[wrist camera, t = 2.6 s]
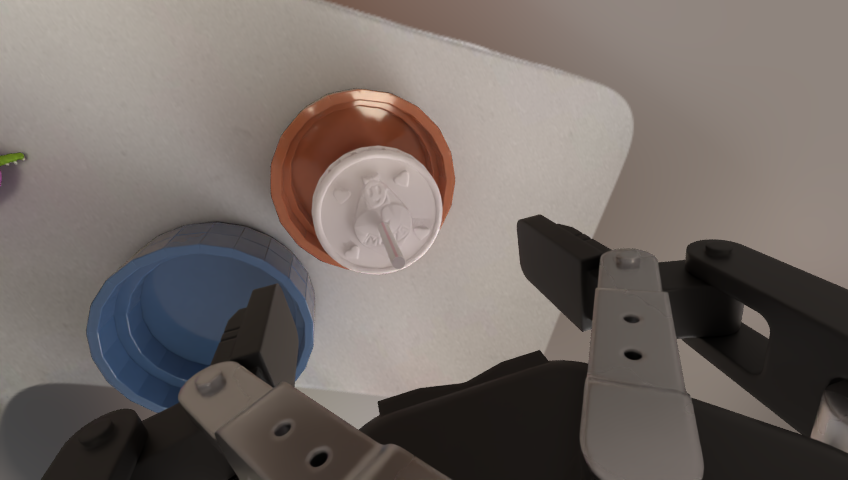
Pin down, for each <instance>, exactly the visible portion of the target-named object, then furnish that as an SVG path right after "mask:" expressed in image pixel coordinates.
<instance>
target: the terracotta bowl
mask: <svg viewBox="0 0 848 480" xmlns="http://www.w3.org/2000/svg"><path fill="white" fill-rule="evenodd" d="M370 146H385V147H391V148H396V149H399V150H401V151H403V152H405V153H408V154H410V155H412V156H413V157H414V158H415V159H417V160H418V161H419V162H420V163H421V164H423V165H424V166H425V168H426V169H427V171H428V172H429V173H430V174H431V176H432V177H433V179H434V180H435V182H436V184H437V186H438V189H439V191H440V195H441V199H442V208H443V212H442V222H441V226H442V224H443V222H444V220H445V218H446V216H447V214H448V212H449V210H450V208H451V205H452V198H453V192H454V185H455V175H454V168H453V162H452V155H451V151H450V149H449V147H448V145H447V143H446V141H445V139H444V137H443V135H442V133H441V131H440V129H439V128H438V126H437V125H436V124H435V123H434V122H433V121H432V120H431V119H430V118H429V117H428V116H427V115H426V114H425V113H424V112H423V111H422V110H421V109H420V108H419V107H417V106H416V105H414V104H412V103H410V102H408V101H406V100H404V99H402V98H400V97H398V96H396V95H394V94H392V93H388V92H380V91H373V90H366V89H357V88H356V89H355V88H353V89H348V90H343V91H338V92H333V93H328V94H326V95H324V96H323V97H321V98H319V99H318V100H316V101H314V102H313V103H311V104H309V105H308V106H306V107H305V108H304V109H302V111H301V112H300V113H299V114H298V115H297V117H296V118H295V119H294V120H293V122H292V123H291V124H290V125H289V126H288V128H287V129H286V130H285V131H284V133H283V134H282V136H281V137H280V140H279V143H278V145H277V148H276V151H275V154H274V157H273V160H272V162H271V197H272V200H273V203H274V206H275V209H276V212H277V214H278V217H279V220H280V222H281V224H282V225H283V227H284V228H285V229H286V230H287V232H288V233H289V234H290V236H291V237H292V238H293V239H294V241H295V242H296V243H297V244H298V245H299V246H300V247H301V248H303V249H304V250H305V251H307V252H308V253H310V254H311V255H313V256H314V257H316V258H317V259H319V260H320V261H322V262H325V263H329V264H332V265H335V266H338V267H341V268H345V269H348V268H346V267H344V266H342V265H341V264H339V263H338V262H336V261H335V260H334V259H333V258H332V257H331V256H330V255H328V253H327V252H326V251H325V250H324V248H323V247H322V245H321V244H320V242H319V240H318V238H317V235H316V232H315V229H314V224H313V218H312V212H311V211H312V200H313V194H314V191H315V189H316V186H317V183H318V181H319V179H320V177H321V176H322V175H323V173H324V172H325V171H326V169H327V168H328V167H329V166H330V165H331V164H332V163H333V162H335V161H336V160H337V159H338V158H340V157H341V156H342V155H344V154H345V153H347V152H349V151H351V150H353V149H357V148H361V147H370ZM441 226H440V228H441ZM439 230H440V229H439ZM348 270H350V269H348Z"/></svg>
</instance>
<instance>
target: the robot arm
mask: <svg viewBox="0 0 848 480" xmlns="http://www.w3.org/2000/svg"><path fill="white" fill-rule="evenodd" d="M517 235H518V246H519V256H520V264H521V268H522V271H523V273H524V275H525V277H526V278H527V279H528V280H529V281H530V282H531V283H532V284H533V285H534V286H535V287H536V288H537V289H538V290H539V291H540V292H541V293H542V294H543V295H544V296H545V297H546V298H548V299H549V300H550V301H551V302H552V303H553V304H554V305H555V306H556V307H557V308H558V309H559V310H560V311H561V312H562V313H563V314H564V315H565V316H566V317H567V318H568V319H570V321H571V322H573V323H574V324H575V325H576V326H577V327H578V328H579V329H580V330H581V331H582V332H584V331H587V330H590V329H592V330H591V341H590V352H589V362H588V364H587V363H582V362H576V361H565V360H560V361H559V360H558V361H557V360H556V361H548V360H547V359H546V357H545V356H544V355H543V354H542V352H541V351H540V350H538V351H535V352H532V353H529V354H526V355H523V356H519V357H516V358H513V359H510V360H507V361H504V362H501V363H499V364H497V365H496V366H494V367H492V368H490V369H489V370H487V371H485V372H483V373H482V374H480V375H478V376H476V377H474V378H473V379H471V380H469V381H467V382H465V383H460V384H452V385H443V386H434V387H426V388H419V389H415V390H412V391H409V392H406V393H403V394H400V395H396V396H393V397H390V398H387V399H384V400H381V401H378V407H379V412H380V415H379V416H377V417H375V418H374V419H372V420H371V421H370V422H368V423H367V424H365V425H364V426H363V427H362V428H360V429H359V430H358V429H356V428H355V427H353V426H351V425H350V424H349V423H347V422H346V421H344V420H343V419H341V418H340V417H338V416H337V415H335V414H334V413H332V412H331V411H329V410H328V409H326V408H325V407H323V406H322V405H320V404H319V403H317V402H316V401H314V400H313V399H311V398H310V397H308V396H306V395H305V394H304V393H302V392H300V391H299V390H298V389H296V388H294V385H295V375H296V365H297V355H298V345H299V340H298V333H297V329H296V325H295V323H294V320H293V317H292V315H291V312H290V309H289V307H288V304H287V301H286V299H285V296H284V293H283V291H282V288H281V287H280V285H279V284H278V283H277V284H273V285H269V286H266V287H262V288H258V289H254V290H253V291H252V294H251V297H250V300H249V303H248V305H247V307H246V308H243V309H239V310H238V311H237V312H236V313H235V314H234V315H233V316H232V317H231V318H230V319H229V320H228V323H227V325H226V327H225V330H224V333H223V335H222V337H221V340H220V341H221V342H219V345H218V347H217V350H216V352H215V355H214V357H213V359H212V362H211V364H210V366H209V367H207V368H205V369H203V370H201V371H199V372H198V373H196V374H195V375H194V376H192V377H191V378H190V379H189V380H188V381H187V382H186V383H185V384H184V385H183V386H182V388H181V389H180V391H179V394H178V400H179V403H177V404H175V405H173V406H171V407H170V408H168V409H166V410H163V411H161V412H159V413H157V414H156V415H153V416H151V417H149V418H147V419H145V420H143V421H141V419H140V418H139V416H138V415H137V413H136V412H135V411H134V410H132V409H120V410H116V411H112V412H110V413H107V414H105V415H103V416H100V417H99V418H97V419H95V420H93V421H92V422H90V423H88V424H87V425H85V426H84V427H82V428H81V429H80V430H79V431H77V432H76V433H75V434H74V435H73V436H72V437H71V438H70V439H69V440H68V441H67V442H66V443H65V444H64V446H63V447H62V448H61V450H60V452H59V453H58V455H57V456H56V458H55V459H54V461H53V462H52V464H51V465H50V467H49V468H48V470H47V471H46V473H45V474H44V476H43V477H42V479H41V480H848V290H847V289H845V288H843V287H840V286H838V285H836V284H833V283H831V282H828V281H826V280H824V279H822V278H819V277H816V276H814V275H812V274H810V273H807V272H805V271H803V270H800V269H798V268H796V267H793V266H791V265H788V264H786V263H784V262H781V261H779V260H777V259H774V258H772V257H770V256H767V255H765V254H762V253H760V252H758V251H755V250H753V249H751V248H748V247H746V246H744V245H741V244H738V243H735V242H731V241H725V240H700V241H696V242H694V243H691V244H690V245H688V246H687V250H686V260H680V261H670V262H658V260H657V258H656V257H655V256H654V255H652V254H650V253H648V252H646V251H642V250H638V249H629V248H626V249H625V248H624V249H615V250H611V249H609V248H607V247H605V246H604V245H602V244H600V243H599V242H597V241H595V240H594V239H590V237H588V236H587V235H585V234H582V233H581V232H580V231H578V230H576V229H574V228H573V227H569V226H565V225H561V224H556V223H554V222H552V221H551V220H549V219H547V218H546V217H544V216H542V215H536V216H532V217H528V218H524V219H521V220H519V221H518V222H517ZM744 305H746V306H748V307H750V308H751V309H753V310H755V311H757V312H758V313H760V314H761V315H762V316H763V317H764V318H765V319H766V321H767V322H768V325H769V327H770V337H769V339H768V338H766V337H765V336H763V335H761V334H760V333H758V332H756V331H755V330H753V329H752V328H750V327H748V326H747V325H745V324H744V323H742V322H741V320H742V314H743V308H744ZM677 339H682V340H683V341H684V342H685V343H686V344H688V345H689V346H690V347H691V348H693V349H694V350H695V351H696V352H698V353H699V354H700V355H702V356H703V357H704V358H705V359H707V360H708V361H709V362H710V363H712V364H713V365H714V366H716V367H717V368H718V369H719V370H721V371H722V372H723V373H725V374H726V375H727V376H728V377H730V378H731V379H732V380H733V381H735V382H736V383H737V384H738V385H740V386H741V387H742V388H743V389H745V390H746V391H747V392H749V393H750V394H751V395H752V396H754V397H755V398H756V399H757V400H759V401H760V402H761V403H763V404H764V405H765V406H766V407H768V408H769V409H770V410H771V411H773V412H774V413H775V414H777V415H778V416H779V417H780V418H782V419H783V420H784V421H785V422H787V423H788V424H789V425H790V426H792V427H793V428H794V429H795V430H797V431H798V432H800V433H801V434H802V435H801V434H798V433H795V432H792V431H789V430H786V429H783V428H780V427H777V426H774V425H771V424H768V423H765V422H762V421H759V420H756V419H753V418H750V417H747V416H744V415H741V414H738V413H735V412H732V411H730V410H726V409H724V408H721V407H718V406H715V405H711V404H709V403H705V402H702V401H700V400H697V399H693V398H691V397H690V395H689V394H688V393H687V392H686V389H685V384H684V378H683V373H682V367H681V362H680V356H679V350H678V345H677Z"/></svg>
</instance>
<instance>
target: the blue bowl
mask: <svg viewBox="0 0 848 480" xmlns="http://www.w3.org/2000/svg"><path fill="white" fill-rule="evenodd" d="M277 283H278V284H279V285H280V287H281V288H282V291H283V293H284V296H285V299H286V301H287V304H288V307H289V309H290V312H291V315H292V317H293V320H294V323H295V325H296V329H297V333H298V340H299V345H298V355H297V365H296V375H295V381H296V380H297V379H298V377H299V376H300V375H301V373H302V372H303V371H304V369H305V368H306V366H307V363H308V360H309V357H310V354H311V352H312V349H313V345H314V319H315V294H314V290H313V287H312V284H311V281H310V278H309V275H308V273H307V271H306V270H305V269H304V267H303V266H302V265H301V263H300V262H299V261H298V259H297V258H296V257H295V255H294V254H293V253H292V252H291V251H290V250H288V249H287V248H286V247H284V246H283V245H282V244H280V243H279V242H278V241H276V240H275V239H274V238H271V237H270V236H268V235H265V234H263V233H260V232H258V231H255V230H253V229H250V228H248V227H245V226H240V225H233V224H226V223H219V222H216V223H215V222H212V223H203V224H193V225H186V226H182V227H180V228H177V229H174V230H172V231H169V232H167V233H164V234H161V235H159V236H158V237H156V238H155V239H153V240H152V241H151V242H149V243H148V244H147V245H146V246H144V247H143V248H142V249H141V250H139V251H138V252H137V253H136V254H135V255H133V256H132V257H131V258H130V259H129V260H128V261H127V262H126V263H125V264H124V265H122V266H121V267H120V268H119V269H118V270H117V271H116V272H115V273H113V274H112V275H111V276H110V277H109V278H108V279H107V280H106V281H105V283H104V284H103V286H102V288H101V289H100V291H99V292H98V294H97V295H96V297H95V299H94V300H93V302H92V303H91V306H90V312H89V317H88V323H87V328H86V334H87V339H88V343H89V348H90V352H91V357H92V359H93V361H94V362H95V364H96V365H97V367H98V368H99V370H100V372H101V373H102V375H103V376H104V378H105V379H106V381H107V382H108V383H109V384H110V385H112V386H113V387H114V388H115V389H117V390H118V391H119V392H120V393H121V394H123V395H124V396H125V397H126V398H128V399H129V400H130V401H132V402H134V403H137V404H139V405H141V406H143V407H145V408H147V409H150V410H151V411H154V412H157V413H159V412H161V411H163V410H166V409H168V408H170V407H171V406H173V405H175V404H177V403H179V400H178V394H179V391H180V389H181V388H182V386H183V385H184V384H185V383H186V382H187V381H188V380H189V379H190V378H191V377H192V376H194V375H195V374H196V373H198V372H199V371H201V370H203V369H205V368H207V367H209V366H210V364H211V362H212V359H213V357H214V355H215V352H216V350H217V347H218V345H219V342H221V341H220V340H221V337H222V335H223V333H224V330H225V327H226V325H227V323H228V320H229V319H230V318H231V317H232V316H233V315H234V314H235V313H236V312H237V311H238V310H239V309H243V308H246V307H247V305H248V303H249V300H250V297H251V294H252V291H253V290H254V289H258V288H262V287H266V286H269V285H273V284H277Z"/></svg>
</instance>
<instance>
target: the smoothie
mask: <svg viewBox="0 0 848 480" xmlns="http://www.w3.org/2000/svg"><path fill="white" fill-rule="evenodd" d="M311 212H312V218H313V224H314V229H315V232H316V235H317V238H318V240H319V242H320V244H321V245H322V247H323V248H324V250H325V251H326V252H327V253H328V255H330V256H331V257H332V258H333V259H334V260H335V261H336V262H338V263H339V264H341V265H342V266H344V267H346V268H348V269H350V270H353V271H356V272H359V273H364V274H375V275H378V274H387V273H392V272H396V271H399V270H401V269H404V268H406V267H408V266H409V265H411V264H413V263H414V262H416V261H417V260H418V259H420V258H421V257H422V256H423V255H424V254H425V253H426V252H427V251H428V249H429V248H430V247H431V245H432V244H433V242H434V240H435V239H436V237H437V234H438V232H439V229H440V226H441V222H442V212H443V208H442V199H441V195H440V191H439V189H438V186H437V184H436V182H435V180H434V179H433V177H432V176H431V174H430V173H429V172H428V171H427V169H426V168H425V166H424V165H423V164H421V163H420V162H419V161H418V160H417V159H415V158H414V157H413V156H412V155H410V154H408V153H405V152H403V151H401V150H399V149H396V148H391V147H385V146H370V147H361V148H357V149H353V150H351V151H349V152H347V153H345V154H344V155H342V156H341V157H340V158H338V159H337V160H336V161H335V162H333V163H332V164H331V165H330V166H329V167H328V168H327V169H326V171H325V172H324V173H323V175H322V176H321V177H320V179H319V181H318V183H317V186H316V189H315V191H314V194H313V200H312V211H311Z"/></svg>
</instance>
